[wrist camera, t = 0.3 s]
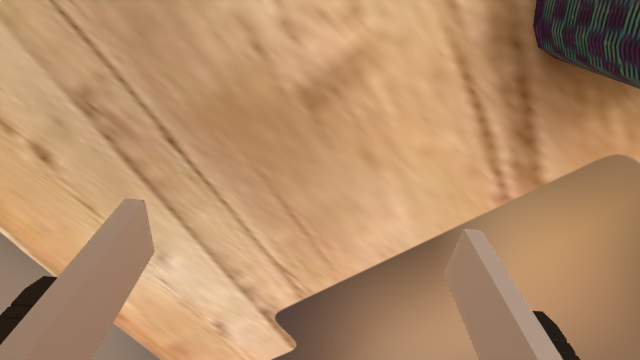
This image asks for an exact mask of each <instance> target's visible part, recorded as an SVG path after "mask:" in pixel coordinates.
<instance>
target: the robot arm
mask: <svg viewBox="0 0 640 360" xmlns="http://www.w3.org/2000/svg"><path fill="white" fill-rule="evenodd" d="M154 252H155V251H154V246H153V241H152V236H151V231H150V226H149V220H148V215H147V210H146V205H145V201H144V200H133V199H124V200H123V201H122V203H121V204H120V205H119V206H118V207H117V208H116V210H115V211H114V212H113V213H112V214H111V216H110V217H109V218H108V219H107V220H106V221H105V223H104V224H103V225H102V226H101V227H100V228H99V230H98V231H97V232H96V233H95V234H94V236H93V237H92V238H91V239H90V240H89V241H88V243H87V244H86V245H85V246H84V247H83V248H82V250H81V251H80V252H79V253H78V254H77V256H76V257H75V258H74V259H73V260H72V261H71V263H70V264H69V265H68V266H67V267H66V268H65V270H64V271H63V272H62V273H61V274H60V276H59V277H47V276H43V277H42V278H40V279H39V280H37V281H36V282H34V283H33V284H31V285H30V286H28V287H27V288H25V289H24V290H23V291H22V292H21V294H20V295H19V296H18V297H17V298H16V299H15V300H14V301H13V302H12V304H11V306H10V307H8V308H7V309H6V310H5V311H4V312H3V313H2V314H1V315H0V360H91V359H92V358H93V356H94V354H95V353H96V351H97V349H98V348H99V346H100V344H101V342H102V341H103V339H104V337H105V335H106V334H107V332H108V330H109V329H110V327H111V325H112V324H113V322H114V320H115V318H116V317H117V315H118V313H119V312H120V310H121V308H122V306H123V305H124V303H125V301H126V300H127V298H128V296H129V294H130V293H131V291H132V289H133V288H134V286H135V284H136V282H137V281H138V279H139V277H140V276H141V274H142V272H143V270H144V269H145V267H146V265H147V264H148V262H149V260H150V258H151V257H152V255H153V253H154ZM444 276H445V279H446V281H447V283H448V286H449V288H450V291H451V293H452V295H453V298H454V300H455V303H456V305H457V307H458V310H459V312H460V314H461V317H462V319H463V322H464V324H465V327H466V329H467V331H468V334H469V336H470V339H471V341H472V343H473V346H474V348H475V351H476V353H477V355H478V358H479V360H580V359H579V357H578V356H576V355H575V351H574V350H573V348H572V347H571V345H570V344H569V343H567V340H566V338H565V337H564V335H563V334H562V332H561V331H560V329H559V328H558V326H557V325H556V324H555V323H554V322H553V321H552V320H551V319H550V318H549V317H548V316H546V315H545V314H544V313H543V312H540V311H532V310H531V308H530V307H529V305H528V303H527V302H526V300H525V299H524V297H523V296H522V294H521V292H520V291H519V289H518V288H517V286H516V285H515V283H514V281H513V280H512V278H511V277H510V275H509V274H508V272H507V270H506V269H505V267H504V266H503V265H502V263H501V261H500V259H499V258H498V256H497V254H496V253H495V251H494V250H493V248H492V247H491V245H490V243H489V242H488V240H487V239H486V237H485V236H484V234H483V232H482V231H480V230H471V229H464V230H463V232H462V234H461V237H460V239H459V241H458V243H457V246H456V248H455V250H454V252H453V255H452V257H451V259H450V261H449V263H448V266H447V268H446V270H445V273H444Z"/></svg>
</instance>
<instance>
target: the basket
mask: <svg viewBox="0 0 640 360" xmlns="http://www.w3.org/2000/svg"><path fill="white" fill-rule="evenodd" d="M533 26H534V31H535V35H536V40H537V44H538V47H539V48H541V49H542V50H544V51H545V52H547V53H548V54H550V55H551V56H553V57H555V58H556V59H558V60H561V61H564V62H567V63H570V64H572V65H575V66H578V67H581V68H584V69H586V70H589V71H592V72H595V73H598V74H600V75H603V76H606V77H609V78H612V79H614V80H617V81H620V82H623V83H626V84H628V85H631V86H634V87H637V88H640V0H537V3H536V10H535V17H534V25H533Z"/></svg>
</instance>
